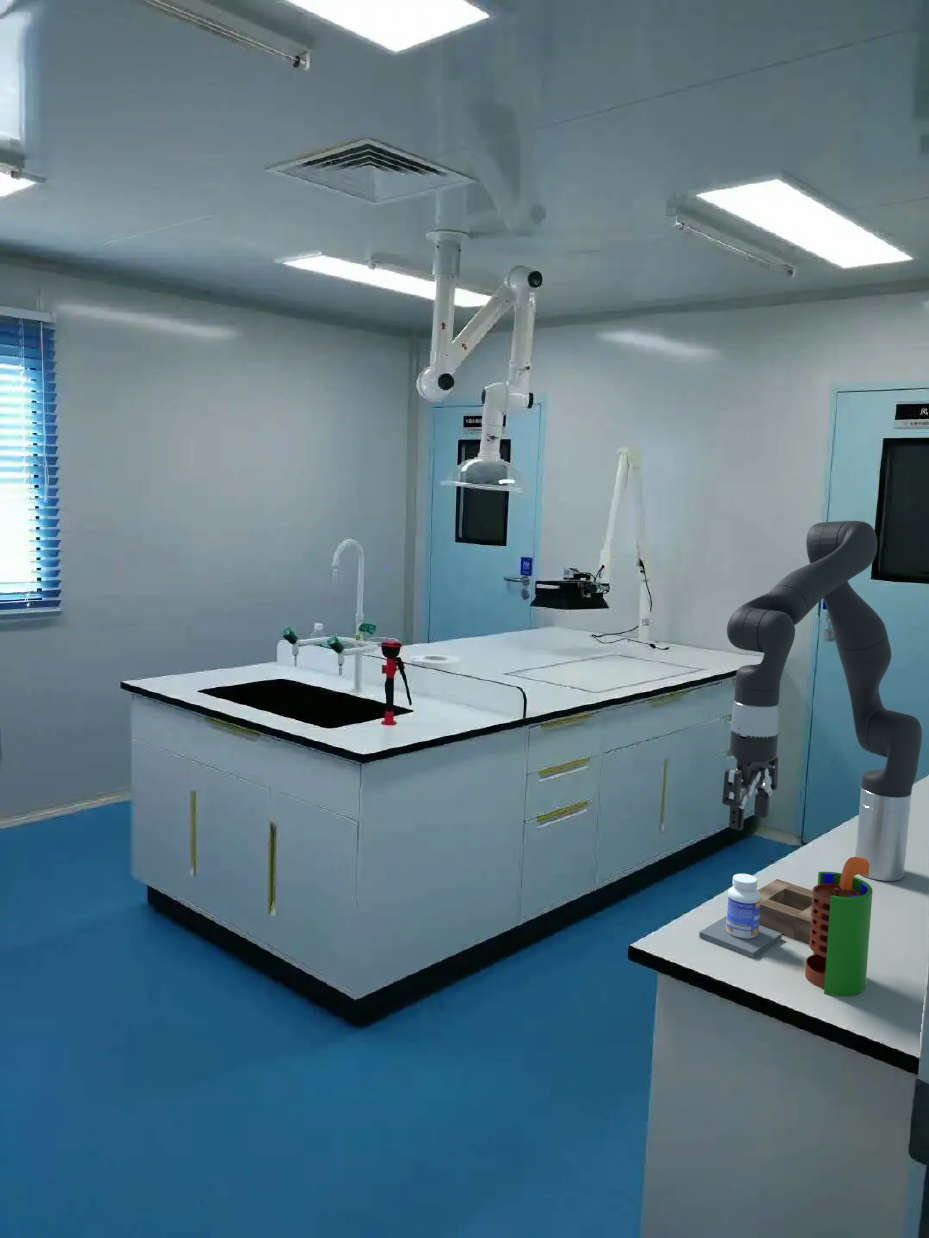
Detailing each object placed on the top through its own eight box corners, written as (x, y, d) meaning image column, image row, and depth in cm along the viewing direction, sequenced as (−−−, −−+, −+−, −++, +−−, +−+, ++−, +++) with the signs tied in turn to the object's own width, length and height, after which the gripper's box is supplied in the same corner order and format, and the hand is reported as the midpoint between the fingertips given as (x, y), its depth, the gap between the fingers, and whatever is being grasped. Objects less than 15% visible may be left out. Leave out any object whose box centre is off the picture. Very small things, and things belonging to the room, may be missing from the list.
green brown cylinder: (793, 963, 157) (802, 845, 154) (846, 962, 157) (856, 845, 154) (821, 996, 147) (831, 871, 144) (877, 995, 147) (889, 870, 144)
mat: (728, 919, 172) (729, 914, 172) (781, 938, 165) (781, 933, 165) (699, 937, 165) (699, 931, 165) (752, 958, 158) (753, 952, 158)
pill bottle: (759, 941, 162) (763, 886, 160) (726, 937, 163) (730, 882, 161) (756, 926, 167) (760, 873, 166) (724, 923, 168) (728, 870, 167)
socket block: (775, 899, 181) (777, 878, 180) (841, 921, 172) (843, 900, 171) (742, 919, 172) (743, 898, 171) (810, 944, 163) (811, 922, 163)
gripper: (754, 717, 167) (748, 807, 169) (712, 731, 157) (706, 827, 159) (795, 725, 162) (789, 818, 164) (754, 741, 152) (748, 839, 154)
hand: (748, 822), depth 162 cm, fingers open, 8 cm apart
